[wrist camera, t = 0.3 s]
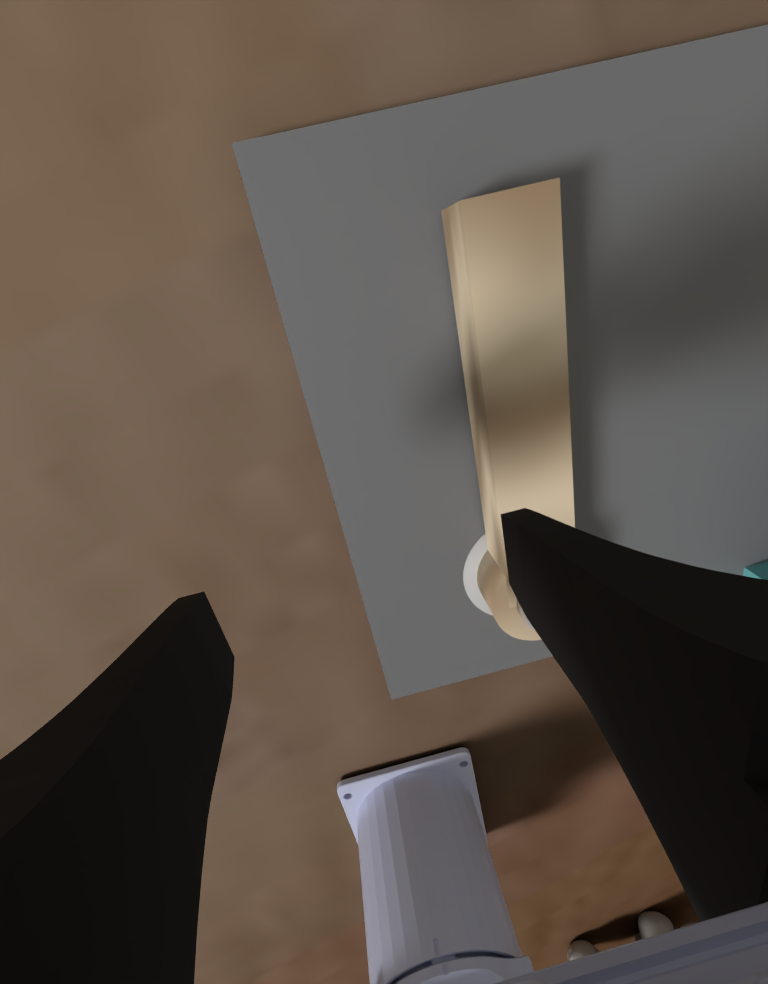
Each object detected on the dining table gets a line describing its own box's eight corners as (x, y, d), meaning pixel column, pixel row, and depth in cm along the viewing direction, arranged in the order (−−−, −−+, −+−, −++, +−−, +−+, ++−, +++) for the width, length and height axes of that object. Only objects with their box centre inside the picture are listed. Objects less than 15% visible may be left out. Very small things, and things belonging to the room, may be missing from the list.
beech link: (570, 595, 23) (602, 634, 20) (482, 619, 23) (504, 661, 20) (548, 185, 16) (593, 167, 13) (420, 215, 16) (441, 202, 13)
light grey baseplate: (826, 567, 26) (846, 578, 25) (388, 684, 25) (391, 701, 24) (957, -9, 16) (999, -28, 15) (236, 151, 15) (231, 142, 14)
